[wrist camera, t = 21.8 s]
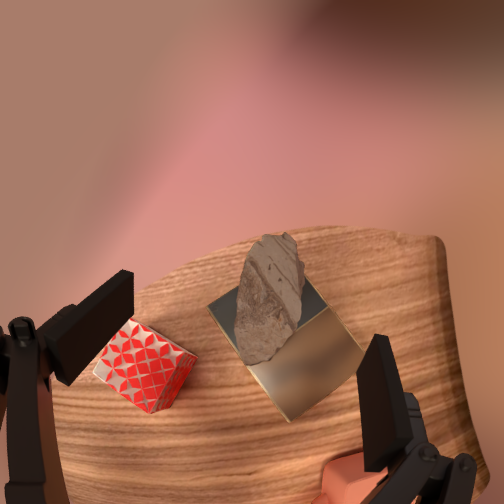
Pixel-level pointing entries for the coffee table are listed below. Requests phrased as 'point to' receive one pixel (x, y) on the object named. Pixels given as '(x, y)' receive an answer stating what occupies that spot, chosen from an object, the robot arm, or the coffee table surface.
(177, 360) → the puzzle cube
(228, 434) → the coffee table surface
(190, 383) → the coffee table surface
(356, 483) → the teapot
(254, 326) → the stone
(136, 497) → the coffee table surface
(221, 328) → the board
